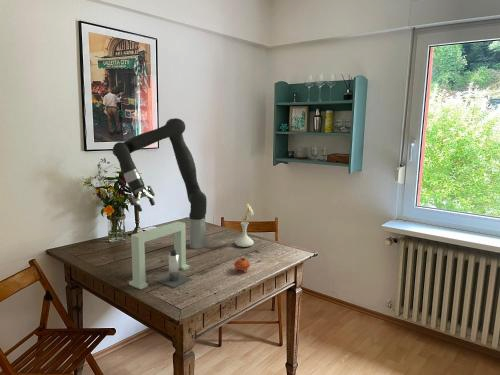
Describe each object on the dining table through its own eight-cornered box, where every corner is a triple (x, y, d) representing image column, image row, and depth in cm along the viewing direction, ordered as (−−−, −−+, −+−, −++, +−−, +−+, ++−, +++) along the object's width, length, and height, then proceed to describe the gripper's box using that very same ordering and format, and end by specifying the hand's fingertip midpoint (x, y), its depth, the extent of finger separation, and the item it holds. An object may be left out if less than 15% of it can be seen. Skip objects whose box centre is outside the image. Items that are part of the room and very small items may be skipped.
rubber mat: (156, 281, 164) (156, 280, 164) (174, 273, 173) (174, 272, 173) (173, 288, 158) (173, 287, 158) (191, 279, 167) (191, 278, 167)
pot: (254, 269, 179) (252, 257, 177) (243, 277, 174) (242, 265, 171) (242, 264, 184) (240, 253, 182) (231, 272, 179) (230, 260, 177)
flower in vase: (247, 249, 207) (248, 207, 203) (230, 246, 213) (231, 205, 209) (258, 243, 219) (259, 203, 214) (242, 240, 224) (243, 201, 220)
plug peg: (177, 276, 168) (177, 248, 165) (179, 280, 164) (179, 251, 161) (168, 278, 166) (167, 249, 164) (170, 282, 162) (169, 253, 160)
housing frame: (128, 284, 160) (126, 234, 156) (178, 263, 185) (177, 220, 181) (140, 289, 156) (138, 238, 152) (189, 267, 180) (189, 223, 176)
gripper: (126, 182, 177) (140, 212, 179) (148, 173, 188) (161, 201, 190) (118, 185, 181) (132, 215, 183) (140, 177, 192) (153, 204, 194)
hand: (147, 208), depth 186 cm, fingers open, 8 cm apart
